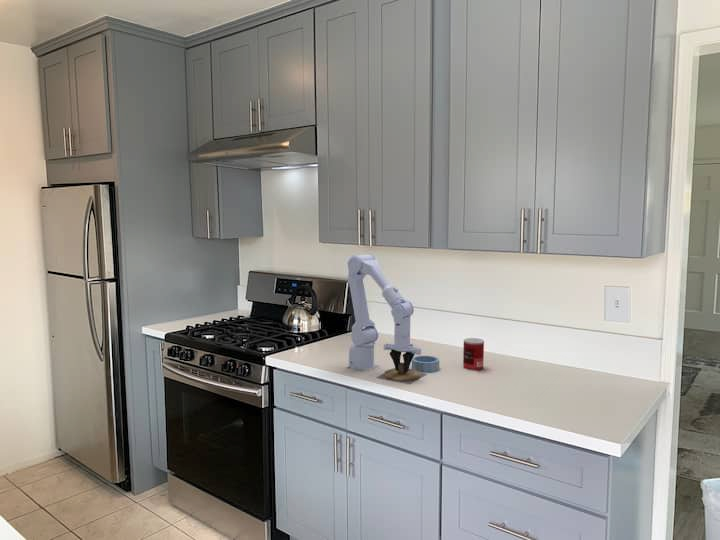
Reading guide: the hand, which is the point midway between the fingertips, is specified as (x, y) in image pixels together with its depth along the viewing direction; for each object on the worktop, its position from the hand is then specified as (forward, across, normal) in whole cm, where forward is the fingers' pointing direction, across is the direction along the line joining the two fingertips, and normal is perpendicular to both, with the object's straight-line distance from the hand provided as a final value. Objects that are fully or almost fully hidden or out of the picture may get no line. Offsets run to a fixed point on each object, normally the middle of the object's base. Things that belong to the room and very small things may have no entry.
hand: (402, 371), depth 202 cm
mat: (+2, 0, 0) cm, 2 cm away
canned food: (+2, +18, +25) cm, 31 cm away
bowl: (+2, +3, +14) cm, 14 cm away
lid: (+2, 0, 0) cm, 2 cm away
